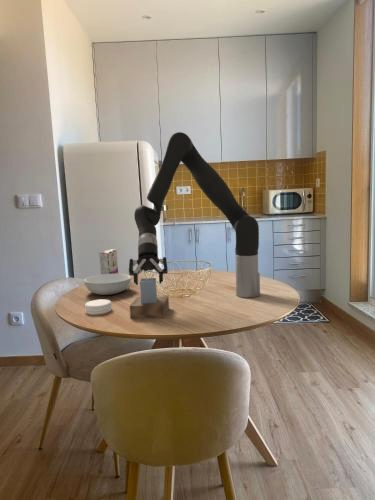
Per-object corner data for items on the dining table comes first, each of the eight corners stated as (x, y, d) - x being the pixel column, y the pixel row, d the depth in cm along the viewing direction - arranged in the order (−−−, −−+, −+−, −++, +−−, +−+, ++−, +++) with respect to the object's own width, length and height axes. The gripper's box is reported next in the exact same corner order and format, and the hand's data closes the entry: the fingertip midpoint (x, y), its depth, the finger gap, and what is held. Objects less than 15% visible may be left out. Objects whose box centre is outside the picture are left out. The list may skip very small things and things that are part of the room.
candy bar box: (110, 280, 202) (107, 249, 200) (119, 280, 201) (116, 249, 199) (101, 285, 192) (98, 252, 189) (110, 285, 191) (108, 252, 188)
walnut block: (169, 309, 149) (168, 296, 148) (163, 319, 137) (163, 305, 136) (138, 309, 150) (137, 296, 149) (130, 319, 138) (129, 305, 138)
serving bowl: (123, 299, 165) (122, 283, 164) (77, 298, 169) (75, 283, 168) (137, 287, 185) (136, 272, 184) (96, 287, 189) (95, 273, 188)
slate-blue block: (156, 298, 145) (155, 277, 144) (156, 302, 140) (155, 281, 139) (142, 299, 145) (140, 278, 144) (141, 303, 140) (140, 282, 138)
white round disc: (106, 315, 144) (105, 306, 143) (81, 315, 145) (80, 306, 145) (115, 307, 153) (115, 298, 153) (91, 307, 155) (91, 298, 154)
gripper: (128, 242, 147) (127, 278, 137) (165, 240, 148) (167, 276, 138) (130, 254, 153) (129, 289, 143) (166, 252, 154) (168, 287, 144)
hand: (148, 283), depth 141 cm, fingers open, 8 cm apart
